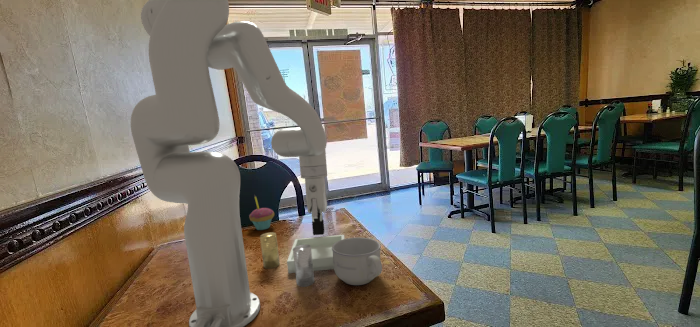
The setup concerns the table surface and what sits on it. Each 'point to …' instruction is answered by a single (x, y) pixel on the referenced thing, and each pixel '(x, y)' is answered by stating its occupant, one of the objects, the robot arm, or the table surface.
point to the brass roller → (269, 250)
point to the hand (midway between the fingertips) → (318, 233)
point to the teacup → (357, 260)
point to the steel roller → (303, 265)
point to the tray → (316, 252)
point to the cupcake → (261, 217)
